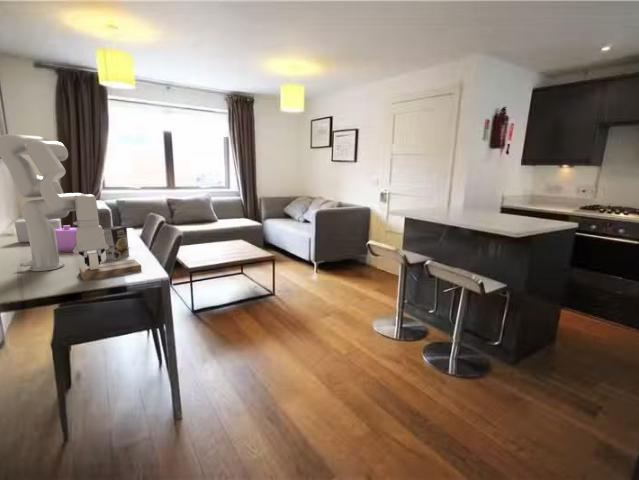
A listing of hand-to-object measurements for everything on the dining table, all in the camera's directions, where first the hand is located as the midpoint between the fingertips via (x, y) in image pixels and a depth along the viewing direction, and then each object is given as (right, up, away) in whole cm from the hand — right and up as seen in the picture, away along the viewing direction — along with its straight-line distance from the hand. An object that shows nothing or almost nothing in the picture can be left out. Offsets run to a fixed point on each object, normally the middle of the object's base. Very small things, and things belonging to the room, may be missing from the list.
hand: (93, 264), depth 145 cm
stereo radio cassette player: (-72, +10, +58) cm, 93 cm away
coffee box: (-7, +1, +28) cm, 29 cm away
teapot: (-41, +6, +43) cm, 60 cm away
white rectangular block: (0, -2, 0) cm, 2 cm away
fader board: (+4, -4, +5) cm, 8 cm away
